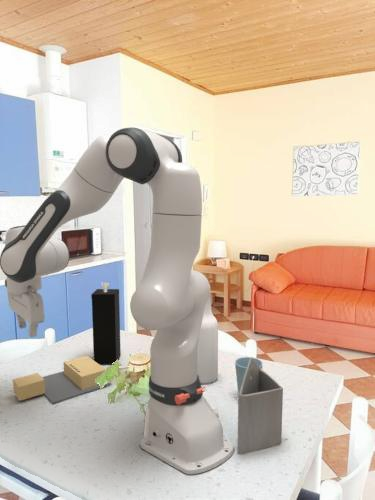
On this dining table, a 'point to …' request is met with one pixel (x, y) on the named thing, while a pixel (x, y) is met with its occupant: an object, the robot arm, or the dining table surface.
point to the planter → (259, 410)
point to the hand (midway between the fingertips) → (27, 331)
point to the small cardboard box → (28, 386)
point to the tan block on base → (73, 380)
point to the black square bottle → (106, 324)
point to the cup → (243, 369)
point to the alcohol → (208, 347)
